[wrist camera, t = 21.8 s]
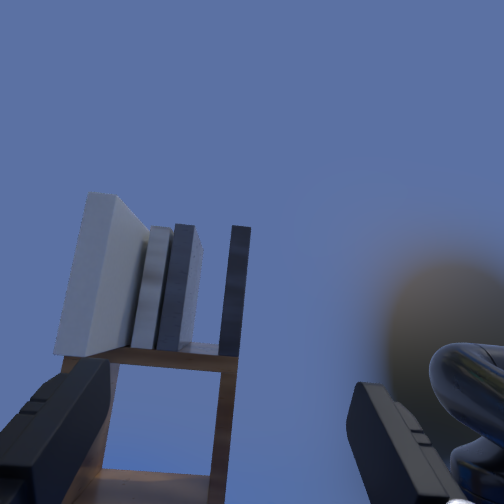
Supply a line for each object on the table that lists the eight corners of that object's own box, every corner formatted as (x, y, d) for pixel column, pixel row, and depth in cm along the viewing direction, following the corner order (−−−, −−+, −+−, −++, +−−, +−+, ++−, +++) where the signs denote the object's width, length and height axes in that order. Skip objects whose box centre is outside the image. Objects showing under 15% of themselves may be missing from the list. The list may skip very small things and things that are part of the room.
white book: (84, 357, 22) (116, 194, 24) (52, 354, 21) (87, 191, 24) (152, 338, 41) (166, 249, 44) (135, 337, 41) (150, 247, 43)
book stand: (198, 773, 24) (251, 226, 33) (-24, 769, 23) (94, 209, 32) (207, 622, 35) (245, 250, 44) (62, 615, 34) (130, 238, 43)
